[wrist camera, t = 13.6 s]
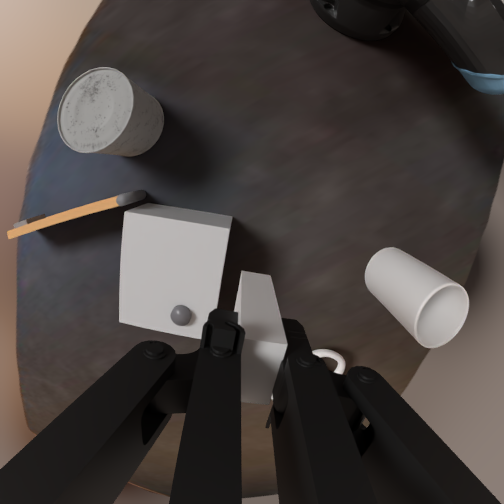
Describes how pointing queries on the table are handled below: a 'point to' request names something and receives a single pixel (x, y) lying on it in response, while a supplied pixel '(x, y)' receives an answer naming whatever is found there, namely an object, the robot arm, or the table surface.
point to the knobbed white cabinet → (171, 267)
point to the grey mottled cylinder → (109, 115)
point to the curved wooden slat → (74, 213)
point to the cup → (417, 296)
